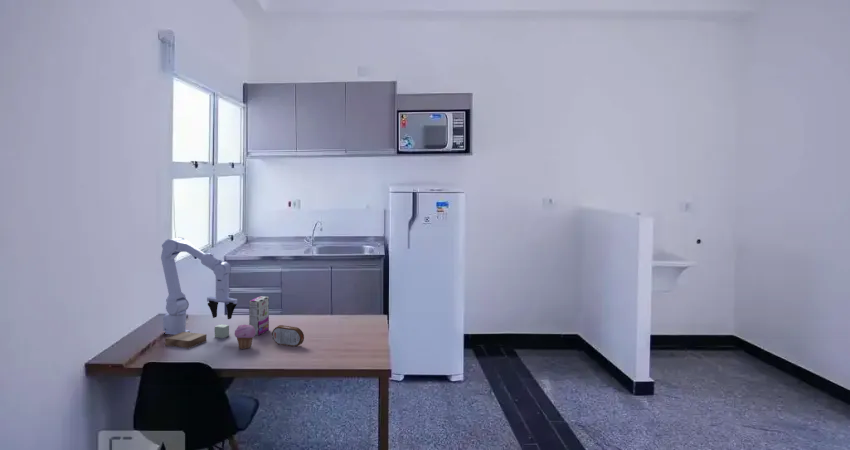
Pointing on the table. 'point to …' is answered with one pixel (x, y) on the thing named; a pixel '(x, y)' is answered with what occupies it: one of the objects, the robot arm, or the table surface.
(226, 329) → the sage block
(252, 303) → the candy bar box
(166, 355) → the table surface
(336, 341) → the table surface
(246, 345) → the cupcake
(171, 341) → the brown flat block
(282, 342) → the tin
